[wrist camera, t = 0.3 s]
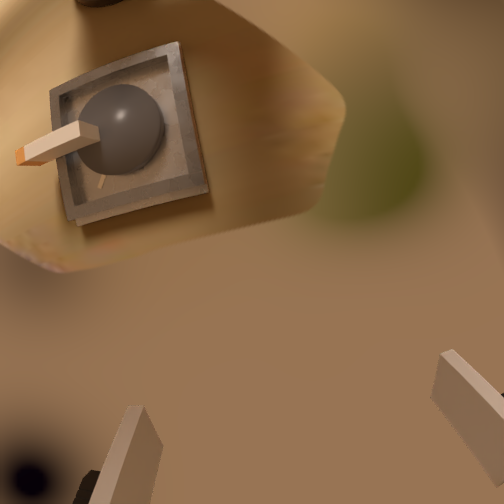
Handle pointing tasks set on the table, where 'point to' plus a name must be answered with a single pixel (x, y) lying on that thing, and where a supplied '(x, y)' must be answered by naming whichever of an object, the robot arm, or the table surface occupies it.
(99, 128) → the grey dome with handle
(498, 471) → the robot arm
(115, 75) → the grey rectangular tray
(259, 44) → the table surface
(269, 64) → the table surface
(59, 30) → the table surface
